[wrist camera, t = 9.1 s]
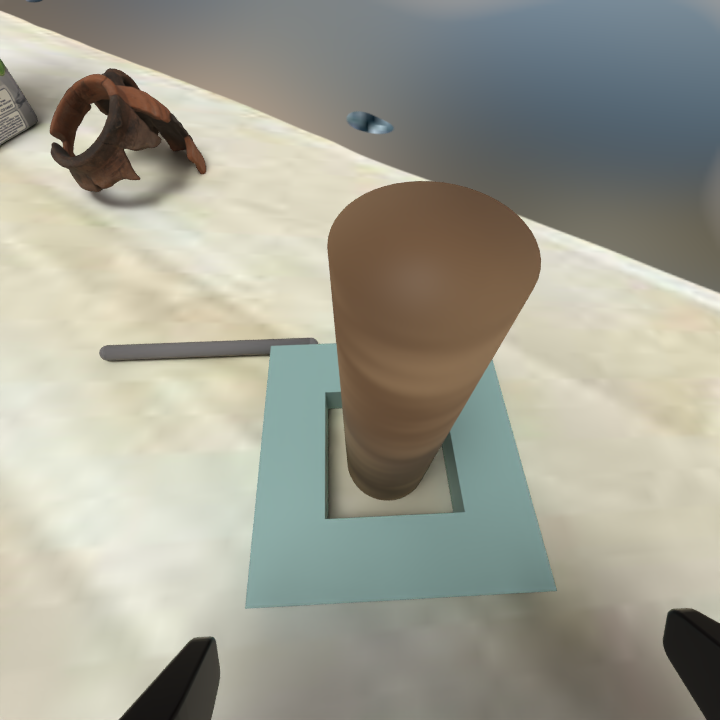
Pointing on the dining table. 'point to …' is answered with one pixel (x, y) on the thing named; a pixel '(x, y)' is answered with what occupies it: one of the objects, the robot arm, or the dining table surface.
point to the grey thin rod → (197, 349)
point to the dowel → (419, 318)
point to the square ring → (386, 533)
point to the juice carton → (13, 107)
